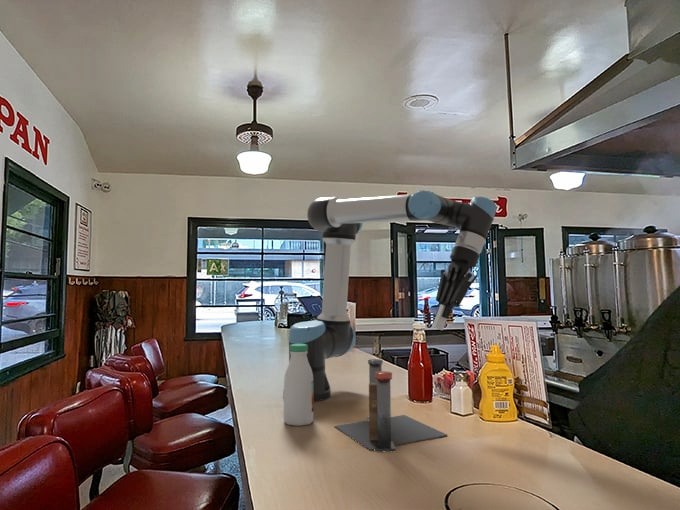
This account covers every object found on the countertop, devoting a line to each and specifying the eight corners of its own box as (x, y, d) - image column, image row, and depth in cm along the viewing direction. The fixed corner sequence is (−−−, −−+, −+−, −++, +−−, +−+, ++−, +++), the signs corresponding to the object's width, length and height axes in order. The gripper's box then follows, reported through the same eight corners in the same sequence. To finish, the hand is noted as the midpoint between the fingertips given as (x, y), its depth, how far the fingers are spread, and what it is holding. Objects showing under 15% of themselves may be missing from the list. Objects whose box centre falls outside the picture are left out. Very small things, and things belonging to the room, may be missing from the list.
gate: (370, 421, 115) (370, 372, 116) (380, 421, 115) (380, 372, 116) (369, 440, 101) (368, 385, 102) (380, 441, 101) (379, 385, 102)
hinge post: (366, 419, 120) (366, 359, 121) (383, 419, 120) (382, 358, 121) (368, 424, 115) (367, 361, 116) (385, 424, 115) (384, 361, 116)
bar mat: (334, 427, 113) (334, 425, 113) (404, 416, 122) (404, 414, 122) (370, 450, 97) (370, 449, 97) (447, 436, 106) (447, 434, 106)
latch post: (373, 444, 101) (372, 371, 102) (392, 444, 101) (392, 370, 102) (375, 451, 97) (374, 375, 98) (395, 451, 97) (394, 374, 98)
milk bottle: (309, 427, 113) (309, 346, 114) (279, 425, 115) (280, 346, 116) (316, 418, 121) (316, 342, 122) (289, 416, 122) (289, 342, 123)
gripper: (442, 244, 132) (413, 319, 129) (473, 245, 120) (442, 328, 117) (461, 254, 135) (433, 328, 132) (492, 256, 123) (462, 337, 120)
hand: (437, 328), depth 124 cm, fingers closed
